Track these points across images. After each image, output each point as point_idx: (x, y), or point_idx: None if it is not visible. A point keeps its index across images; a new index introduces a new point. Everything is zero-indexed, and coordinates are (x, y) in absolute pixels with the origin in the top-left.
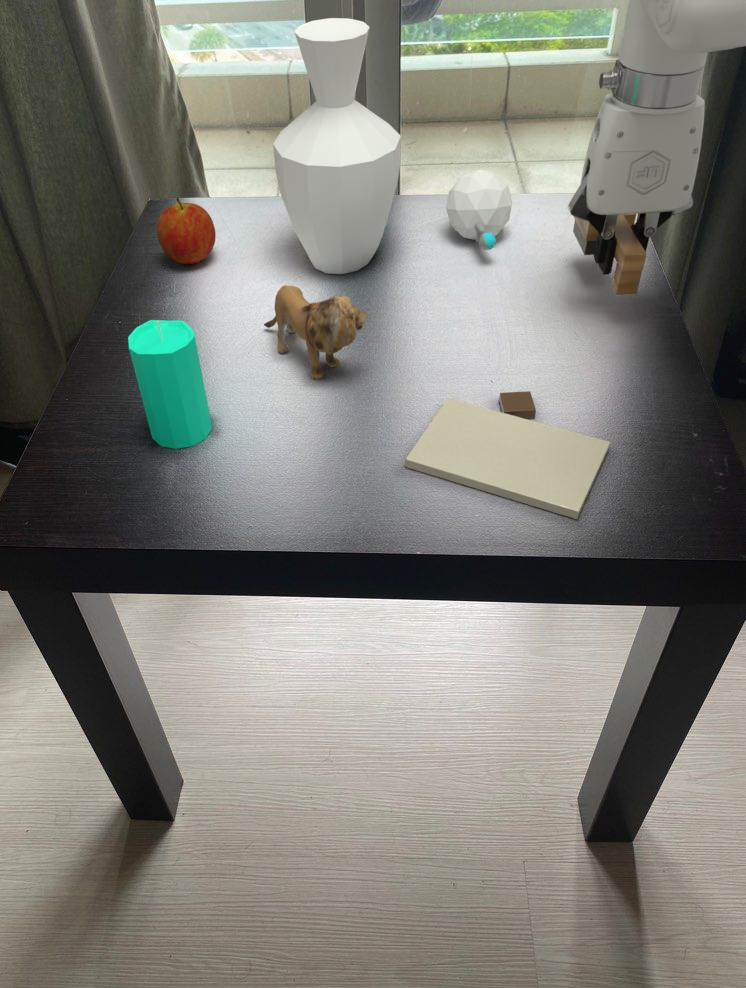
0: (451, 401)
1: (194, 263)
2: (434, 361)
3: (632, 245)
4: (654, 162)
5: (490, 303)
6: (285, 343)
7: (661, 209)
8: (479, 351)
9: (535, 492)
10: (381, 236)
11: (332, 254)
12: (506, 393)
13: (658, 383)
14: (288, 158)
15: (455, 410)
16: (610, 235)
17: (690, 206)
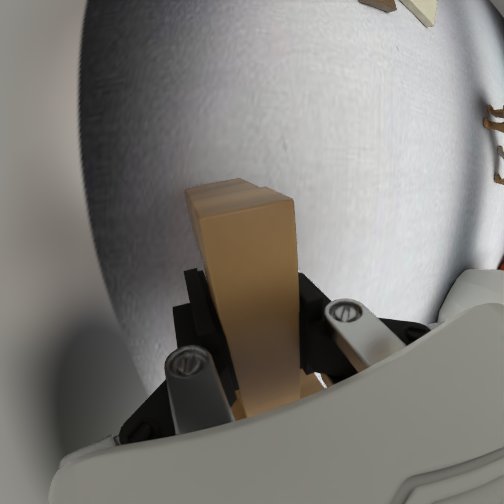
0: (431, 19)
1: (502, 263)
2: (441, 105)
3: (251, 284)
4: None
5: (385, 234)
6: (501, 153)
7: (190, 446)
8: (409, 114)
9: None
10: (464, 308)
11: (488, 270)
12: (390, 5)
13: (155, 4)
14: None
15: (426, 5)
16: (330, 315)
17: (64, 461)
